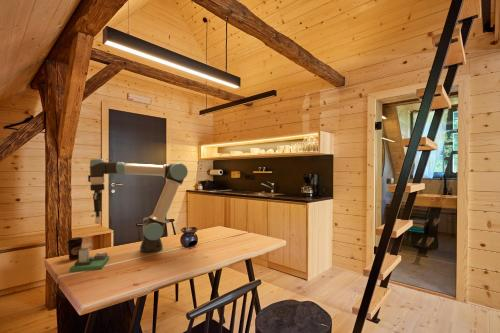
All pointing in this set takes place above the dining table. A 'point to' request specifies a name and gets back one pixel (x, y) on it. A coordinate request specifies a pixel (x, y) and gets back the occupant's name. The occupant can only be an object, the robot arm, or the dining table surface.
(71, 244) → the coffee cup
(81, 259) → the plug
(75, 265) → the board
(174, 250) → the dining table surface
